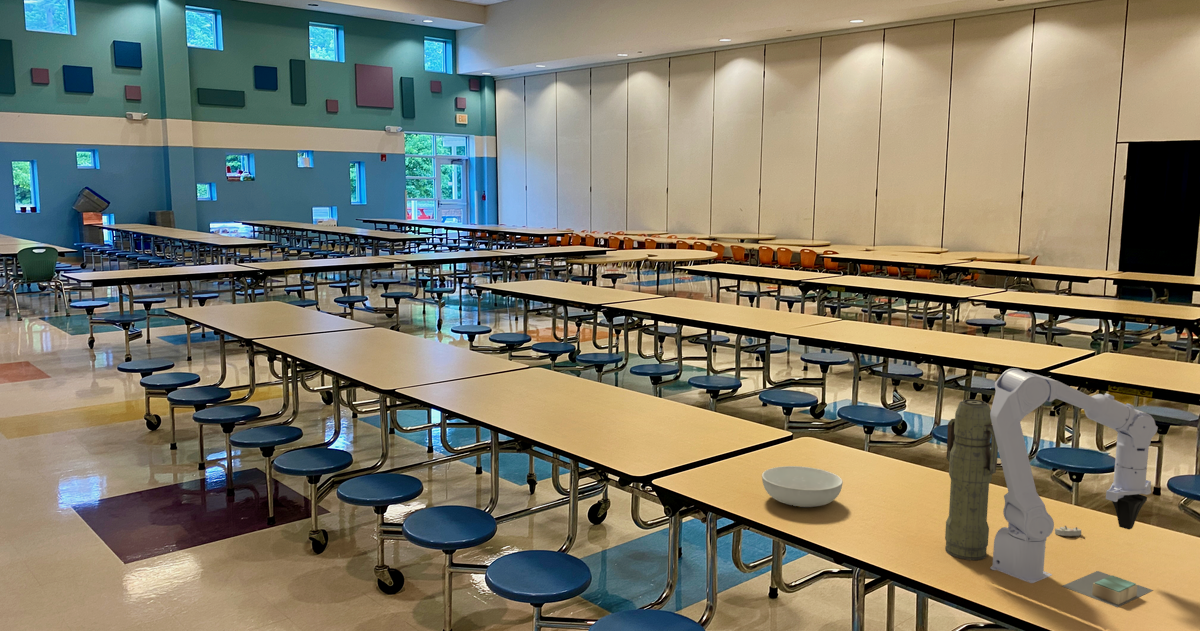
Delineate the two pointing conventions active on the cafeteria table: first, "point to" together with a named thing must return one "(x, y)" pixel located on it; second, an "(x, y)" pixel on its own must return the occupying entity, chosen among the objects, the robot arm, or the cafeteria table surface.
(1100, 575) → the rubber mat
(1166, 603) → the cafeteria table surface
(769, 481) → the serving bowl
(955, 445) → the thermos
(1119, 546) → the cafeteria table surface
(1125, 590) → the green-faced wooden block
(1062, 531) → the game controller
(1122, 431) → the robot arm
